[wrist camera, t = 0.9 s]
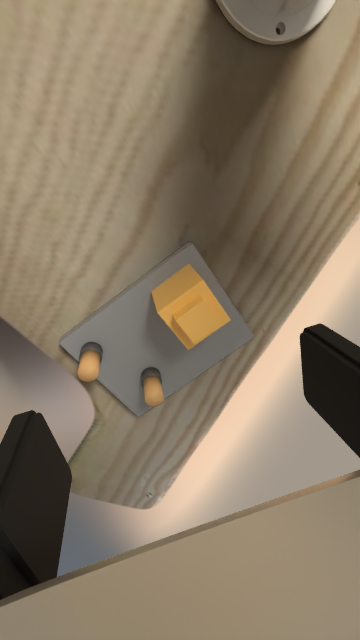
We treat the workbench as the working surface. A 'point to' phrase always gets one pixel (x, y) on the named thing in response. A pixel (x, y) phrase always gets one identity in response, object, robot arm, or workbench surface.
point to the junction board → (150, 339)
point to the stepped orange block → (189, 307)
